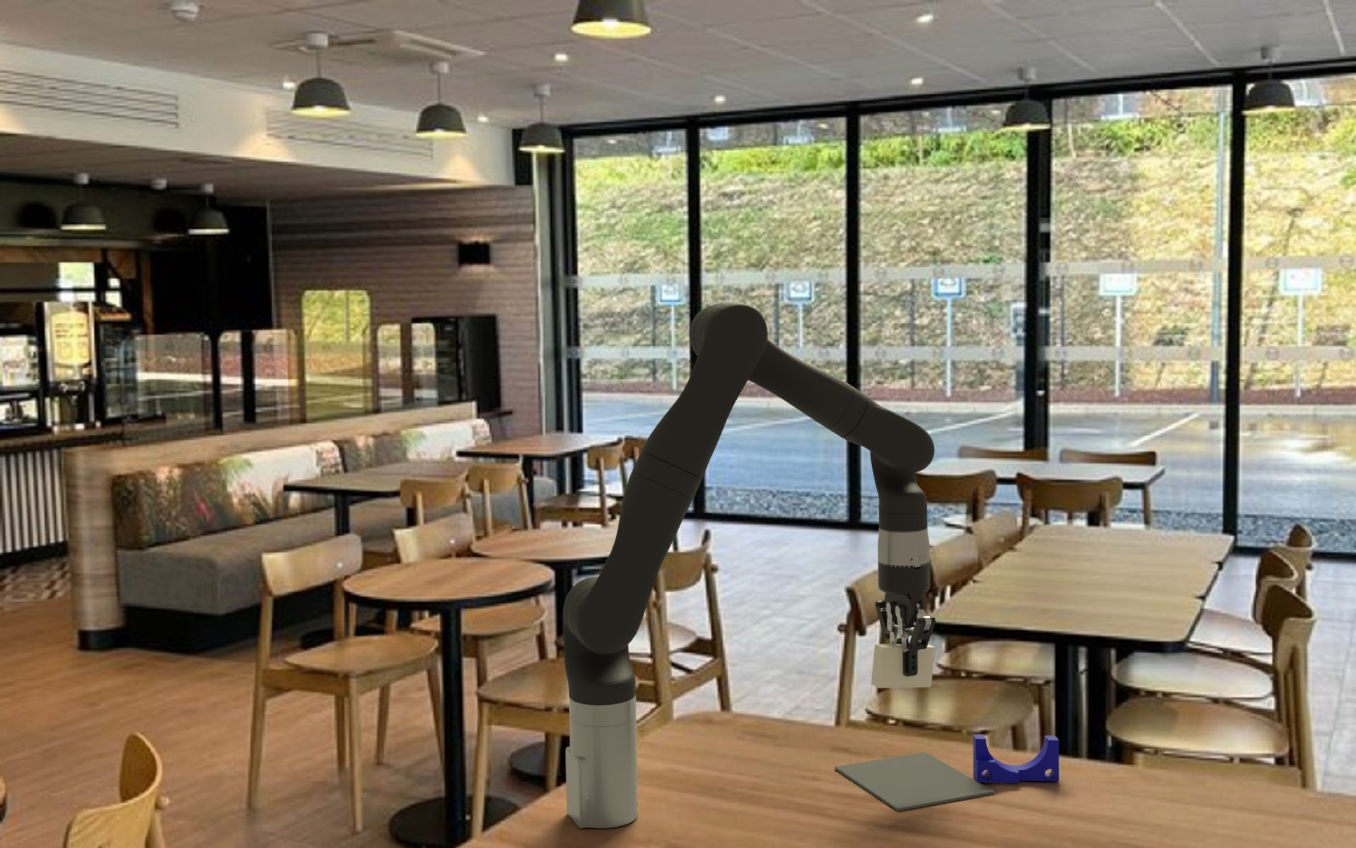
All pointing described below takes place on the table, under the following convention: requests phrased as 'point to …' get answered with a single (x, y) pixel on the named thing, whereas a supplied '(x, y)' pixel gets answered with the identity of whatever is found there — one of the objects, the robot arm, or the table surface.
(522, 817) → the table surface
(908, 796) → the mat
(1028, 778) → the blue u-shaped bracket
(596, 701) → the robot arm
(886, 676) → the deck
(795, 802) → the table surface
